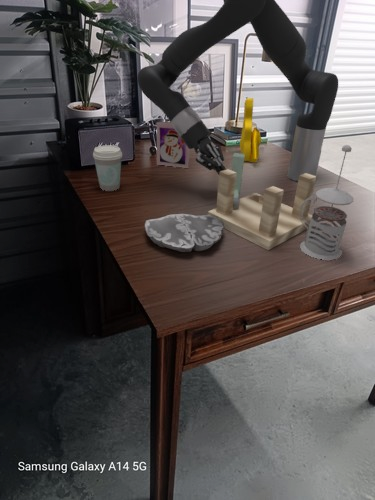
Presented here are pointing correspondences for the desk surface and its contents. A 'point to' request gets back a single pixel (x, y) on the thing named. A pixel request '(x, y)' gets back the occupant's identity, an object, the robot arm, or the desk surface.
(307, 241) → the french press
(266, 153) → the desk surface
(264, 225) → the stool seat
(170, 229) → the brain slice
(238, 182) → the hinged leg
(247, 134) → the figure statuette
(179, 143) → the greeting card
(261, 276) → the desk surface
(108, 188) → the coffee cup
